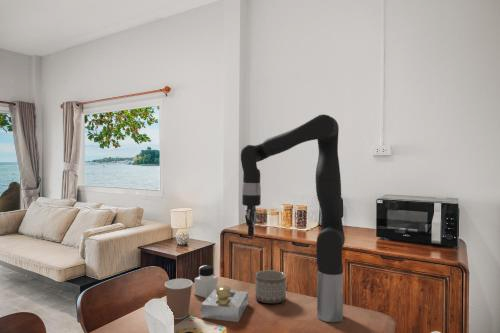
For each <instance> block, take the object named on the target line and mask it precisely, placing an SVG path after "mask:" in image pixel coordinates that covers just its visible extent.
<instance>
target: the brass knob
mask: <svg viewBox="0 0 500 333" xmlns="http://www.w3.org/2000/svg"><path fill="white" fill-rule="evenodd" d="M231 290H232V289H231V286H228V285H219V286H218V285H217V288H216V298H218V304H227V305H228V298H230V292H231Z"/></svg>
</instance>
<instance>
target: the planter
mask: <svg viewBox="0 0 500 333" xmlns="http://www.w3.org/2000/svg"><path fill="white" fill-rule="evenodd" d="M254 281H255V282H254V283H255V284H254V285H255V288H254V297H255V299H256V301H259V302H261V303H265V304H278V303H281V302H284V301H285V299H286V294H287V293H286V292H287V290H286V289H287V287H286V286H287V285H286V284H287V282H286V281H287V274H285V272H283V271H279V270H274V269H270V270H267V269H266V270H259V271H258V272H256V273H255V280H254Z"/></svg>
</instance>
